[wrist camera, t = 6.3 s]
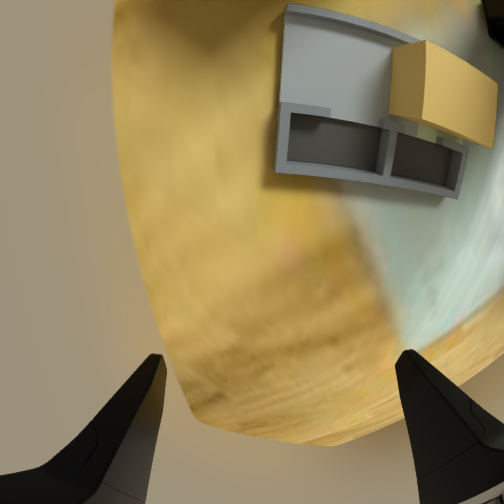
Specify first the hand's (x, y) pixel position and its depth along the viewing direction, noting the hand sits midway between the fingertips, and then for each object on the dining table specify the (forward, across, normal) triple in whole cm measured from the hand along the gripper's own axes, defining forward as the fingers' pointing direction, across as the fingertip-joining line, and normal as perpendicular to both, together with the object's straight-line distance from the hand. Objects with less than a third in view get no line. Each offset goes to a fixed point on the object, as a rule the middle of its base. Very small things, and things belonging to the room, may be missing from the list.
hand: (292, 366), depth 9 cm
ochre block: (+11, -11, -11) cm, 19 cm away
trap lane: (+12, -7, -10) cm, 17 cm away
